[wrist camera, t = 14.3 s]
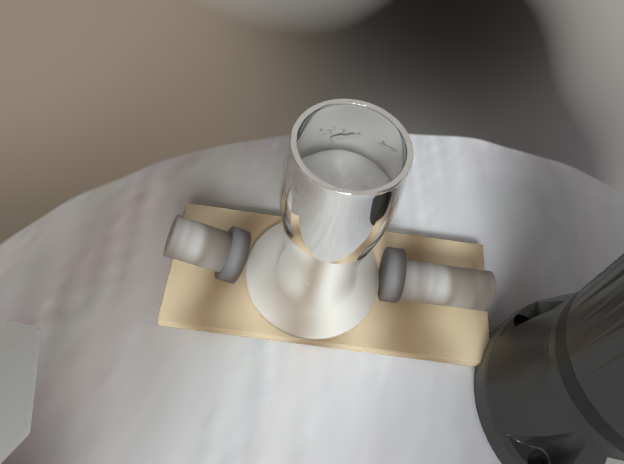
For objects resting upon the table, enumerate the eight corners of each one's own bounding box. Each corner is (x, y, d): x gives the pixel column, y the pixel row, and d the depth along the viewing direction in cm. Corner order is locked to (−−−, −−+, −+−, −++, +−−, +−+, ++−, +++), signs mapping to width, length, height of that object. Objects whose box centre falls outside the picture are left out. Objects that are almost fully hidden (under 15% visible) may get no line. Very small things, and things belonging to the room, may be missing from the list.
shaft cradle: (477, 250, 47) (505, 213, 42) (486, 368, 42) (519, 340, 37) (183, 209, 46) (177, 165, 41) (153, 324, 41) (142, 289, 36)
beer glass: (257, 248, 43) (267, 109, 30) (340, 224, 45) (382, 84, 32) (289, 330, 40) (316, 213, 27) (378, 301, 42) (440, 179, 29)
